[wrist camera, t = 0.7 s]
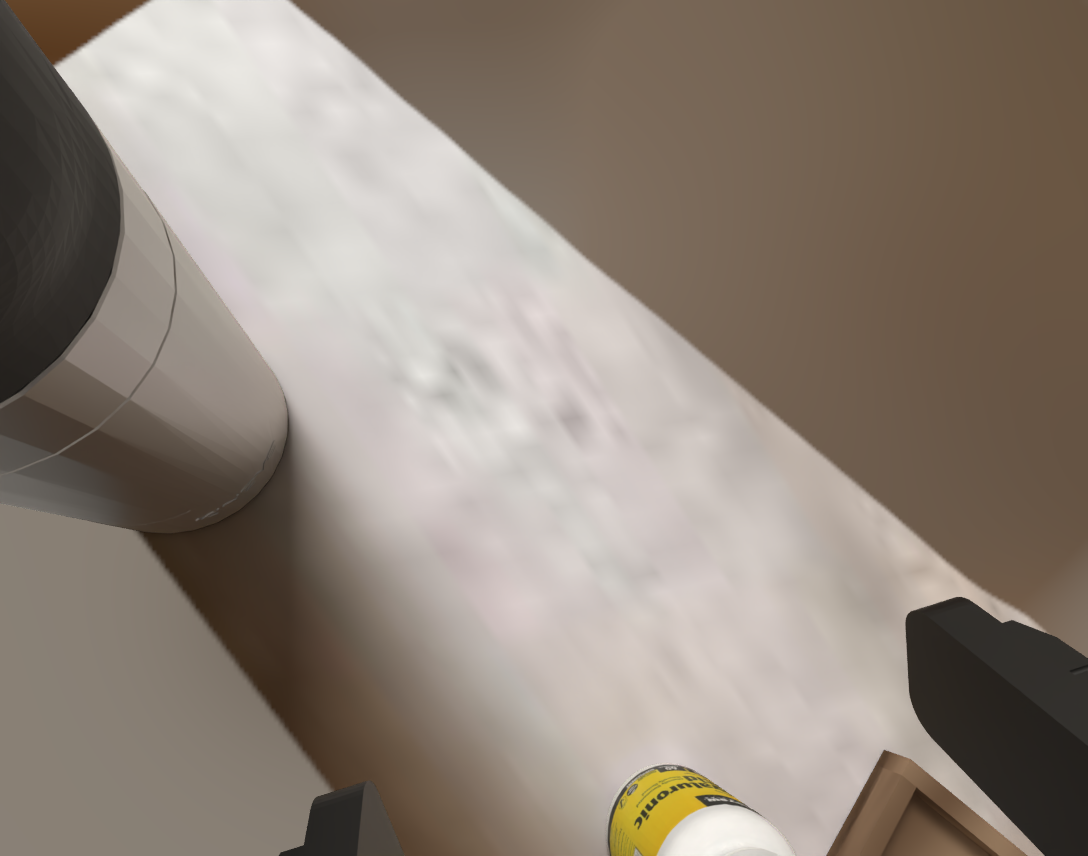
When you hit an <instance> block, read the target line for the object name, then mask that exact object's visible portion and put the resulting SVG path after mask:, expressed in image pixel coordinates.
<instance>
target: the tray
mask: <svg viewBox="0 0 1088 856" xmlns="http://www.w3.org/2000/svg"><path fill="white" fill-rule="evenodd" d="M827 856H1027V855H1026V854H1025V853H1024V852H1022V851H1021V850H1020V849H1019V848H1017V847H1016V846H1015V845H1014V844H1013V843H1011V842H1010V841H1009V840H1008V839H1007V838H1005V837H1004V836H1003V835H1002V834H1001V833H999V832H998V831H997V830H996V829H994V828H993V827H992V826H991V825H990V824H988V823H987V822H986V821H985V820H984V819H982V818H981V817H980V816H979V815H977V814H976V813H975V812H974V811H973V810H971V809H970V808H969V807H968V806H967V805H965V804H964V803H963V802H962V801H961V800H959V799H958V798H957V797H956V796H954V795H953V794H952V793H951V792H950V791H948V790H947V789H946V788H945V787H944V786H942V785H941V784H940V783H939V782H938V781H936V780H935V779H934V778H933V777H931V776H930V775H929V774H928V773H927V772H925V771H924V770H923V769H922V768H921V767H919V766H918V765H917V764H916V763H915V762H913V761H912V760H911V759H908V758H906V757H903V756H900V755H897V754H894V753H891V752H889V751H886V750H884V751H883V753H882V755H881V757H880V759H879V760H878V762H877V764H876V766H875V768H874V770H873V771H872V773H871V775H870V777H869V779H868V781H867V782H866V784H865V786H864V788H863V790H862V792H861V793H860V795H859V797H858V799H857V801H856V803H855V804H854V806H853V808H852V810H851V812H850V814H849V815H848V817H847V819H846V821H845V823H844V825H843V826H842V828H841V830H840V832H839V834H838V836H837V837H836V839H835V841H834V843H833V845H832V847H831V848H830V850H829V852H828V854H827Z"/></svg>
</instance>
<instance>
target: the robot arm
mask: <svg viewBox="0 0 1088 856" xmlns="http://www.w3.org/2000/svg"><path fill="white" fill-rule="evenodd" d="M287 430H288V412H287V407H286V403H285V398H284V393H283V391H282V389H281V387H280V385H279V382H278V380H277V378H276V376H275V374H274V373H273V371H272V370H271V368H270V367H269V366H268V364H267V363H266V361H265V360H264V359H263V357H262V356H261V354H260V353H259V352H258V350H257V349H256V347H255V346H254V344H253V343H252V341H251V340H250V338H249V337H248V335H247V334H246V333H245V331H244V330H243V328H242V327H241V326H240V324H239V323H238V321H237V320H236V319H235V317H234V316H233V314H232V313H231V312H230V310H229V309H228V307H227V306H226V305H225V303H224V302H223V300H222V299H221V298H220V296H219V295H218V293H217V292H216V291H215V289H214V288H213V286H212V285H211V284H210V282H209V281H208V279H207V278H206V277H205V275H204V274H203V272H202V271H201V270H200V268H199V267H198V265H197V264H196V262H195V261H194V260H193V258H192V257H191V255H190V254H189V253H188V251H187V250H186V248H185V247H184V246H183V244H182V243H181V241H180V240H179V239H178V237H177V236H176V234H175V233H174V232H173V230H172V229H171V227H170V226H169V225H168V223H167V222H166V220H165V219H164V218H163V216H162V215H161V213H160V212H159V211H158V209H157V208H156V206H155V205H154V204H153V202H152V201H151V199H150V198H149V197H148V195H147V194H146V193H145V191H144V190H143V189H142V188H141V186H140V185H139V184H138V182H137V181H136V179H135V178H134V177H133V175H132V174H131V173H130V171H129V170H128V168H127V167H126V166H125V164H124V163H123V161H122V160H121V159H120V157H119V156H118V154H117V153H116V152H115V150H114V149H113V147H112V146H111V145H110V143H109V142H108V140H107V139H106V138H105V136H104V135H103V133H102V132H101V131H100V129H99V128H98V126H97V125H96V124H95V122H94V121H93V119H92V118H91V117H90V115H89V114H88V112H87V111H86V110H85V108H84V107H83V105H82V104H81V103H80V101H79V100H78V99H77V97H76V96H75V94H74V93H73V92H72V90H71V89H70V88H69V87H68V85H67V84H66V83H65V81H64V80H63V79H62V77H61V76H60V75H59V73H58V72H57V71H56V69H55V68H54V67H53V65H52V64H51V63H50V61H49V60H48V59H47V57H46V56H45V55H44V53H43V52H42V51H41V49H40V48H39V47H38V45H37V44H36V42H35V41H34V40H33V39H32V37H31V36H30V34H29V33H28V32H27V30H26V29H25V27H24V26H23V25H22V23H21V22H20V21H19V19H18V18H17V16H16V15H15V14H14V12H13V11H12V10H11V8H10V7H9V6H8V4H7V3H6V1H5V0H0V503H1V504H6V505H11V506H16V507H22V508H26V509H31V510H36V511H42V512H47V513H52V514H57V515H63V516H67V517H72V518H77V519H82V520H88V521H92V522H96V523H101V524H106V525H111V526H117V527H122V528H126V529H132V530H137V531H142V532H152V533H169V534H170V533H177V532H184V531H192V530H196V529H199V528H202V527H205V526H208V525H211V524H214V523H217V522H219V521H221V520H223V519H224V518H226V517H228V516H230V515H231V514H233V513H235V512H237V511H238V510H240V509H241V508H242V507H244V506H245V505H246V504H247V503H248V502H249V501H250V500H252V499H253V498H254V497H255V496H256V495H257V494H258V493H259V492H260V491H261V490H262V488H263V487H264V486H265V484H266V483H267V482H268V481H269V479H270V478H271V477H272V475H273V473H274V471H275V469H276V467H277V465H278V463H279V461H280V459H281V457H282V454H283V450H284V446H285V442H286V438H287ZM906 643H907V661H908V679H909V694H910V699H911V702H912V705H913V708H914V710H915V713H916V715H917V717H918V719H919V721H920V722H921V724H922V726H923V727H924V729H925V730H926V731H927V733H928V734H929V735H930V736H931V738H932V739H933V740H934V741H935V742H936V743H937V744H938V745H939V746H940V747H941V748H942V749H943V750H944V751H945V752H946V753H947V754H948V755H949V756H950V757H951V759H952V760H953V761H954V762H955V763H956V764H957V765H958V766H959V767H960V768H961V769H962V770H963V771H964V772H965V773H966V774H967V775H968V776H969V777H970V778H971V779H972V780H973V781H974V782H975V784H976V785H977V786H978V787H979V788H980V789H981V790H982V791H983V792H984V793H985V794H986V795H987V796H988V797H989V798H990V799H991V800H992V801H993V802H994V803H995V804H996V805H997V806H998V807H999V808H1000V810H1001V811H1002V812H1003V813H1004V814H1005V815H1006V816H1007V817H1008V818H1009V819H1010V820H1011V821H1012V822H1013V823H1014V824H1015V825H1016V826H1017V827H1018V828H1019V829H1020V830H1021V831H1022V832H1023V833H1024V835H1025V836H1026V837H1027V838H1028V839H1029V840H1030V841H1031V842H1032V843H1033V844H1034V845H1035V846H1036V847H1037V848H1038V849H1039V850H1040V851H1041V852H1042V853H1043V854H1044V855H1045V856H1088V658H1086V657H1085V656H1084V655H1082V654H1081V653H1079V652H1078V651H1076V650H1075V649H1073V648H1072V647H1070V646H1069V645H1067V644H1066V643H1064V642H1063V641H1061V640H1060V639H1058V638H1057V637H1055V636H1052V635H1049V634H1047V633H1044V632H1042V631H1039V630H1036V629H1034V628H1031V627H1029V626H1026V625H1023V624H1021V623H1018V622H1016V621H1013V620H1011V621H1008V622H1004V623H1001V622H1000V621H998V620H997V619H996V618H994V617H993V616H992V615H990V614H989V613H987V612H986V611H985V610H983V609H982V608H980V607H979V606H978V605H976V604H975V603H973V602H972V601H970V600H968V599H966V598H963V597H955V598H952V599H949V600H946V601H943V602H939V603H936V604H933V605H930V606H927V607H924V608H920V609H917V610H914V611H911V612H910V613H909V614H908V615H907V617H906ZM279 856H404V853H403V851H402V848H401V846H400V844H399V841H398V839H397V836H396V834H395V832H394V829H393V827H392V824H391V822H390V820H389V817H388V815H387V812H386V810H385V807H384V805H383V803H382V800H381V798H380V795H379V793H378V791H377V789H376V787H375V785H374V783H373V782H372V781H366V782H363V783H359V784H356V785H353V786H350V787H347V788H344V789H340V790H337V791H334V792H331V793H328V794H324V795H321V796H318V797H316V798H315V799H314V801H313V803H312V806H311V810H310V815H309V821H308V826H307V831H306V837H305V842H304V845H303V846H300V847H297V848H294V849H291V850H288V851H284V852H281V853H280V855H279Z"/></svg>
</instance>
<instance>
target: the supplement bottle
mask: <svg viewBox="0 0 1088 856" xmlns="http://www.w3.org/2000/svg"><path fill="white" fill-rule="evenodd" d="M606 842H607V848H608V852H609V856H796V854H795V852H794V850H793V849H792V847H791V845H790V844H789V843H788V841H787V840H786V839H785V837H784V836H783V835H782V834H781V832H780V831H779V830H778V829H777V828H776V827H775V826H773V825H772V824H771V823H770V822H769V821H768V820H766V819H765V818H764V817H762V816H761V815H760V814H759V813H757V812H756V811H754V810H753V809H751V808H749V807H748V806H746V805H745V804H743V803H742V802H740V801H739V800H738V799H736V798H735V797H733V796H732V795H730V794H729V793H727V792H726V791H725V790H723V789H722V788H720V787H719V786H717V785H716V784H714V783H713V782H711V781H710V780H709V779H707V778H706V777H704V776H702V775H701V774H699V773H697V772H696V771H694V770H692V769H690V768H687V767H685V766H682V765H678V764H672V763H660V764H654V765H650V766H647V767H645V768H643V769H641V770H639V771H637V772H636V773H634V774H633V775H632V776H630V777H629V778H628V779H627V780H626V781H625V782H624V783H623V784H622V786H621V787H620V788H619V790H618V791H617V793H616V794H615V796H614V798H613V801H612V803H611V806H610V809H609V812H608V817H607V823H606Z"/></svg>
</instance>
